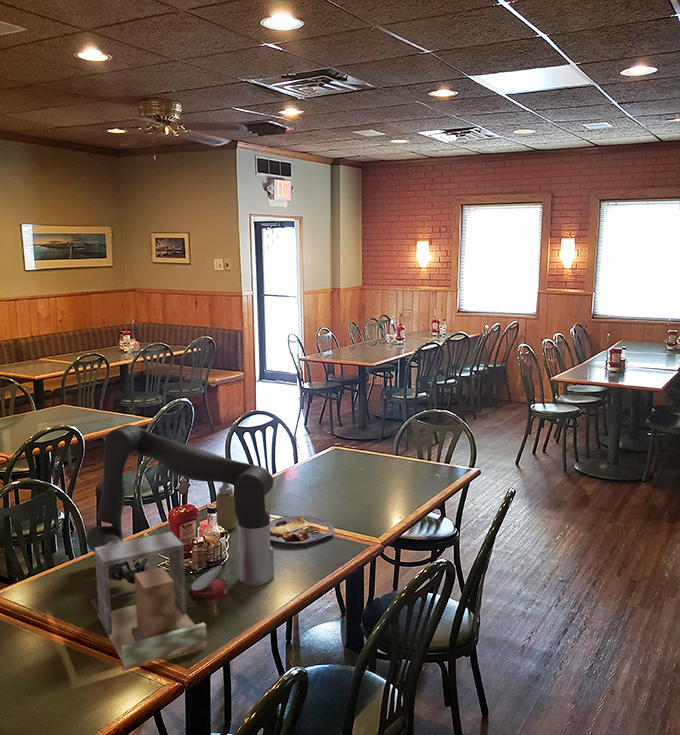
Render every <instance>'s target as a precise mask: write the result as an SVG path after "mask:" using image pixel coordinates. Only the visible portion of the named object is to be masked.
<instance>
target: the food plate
mask: <svg viewBox="0 0 680 735" xmlns="http://www.w3.org/2000/svg"><path fill="white" fill-rule="evenodd" d="M307 521H308V522H307ZM310 522H312V523H316V524H319V525H321V526H325V527H328V529H329V532H328V533H326V535H325V536H323V535H324V534H322V533H321V534H322V535H321V534H320V535H321V536H322V537H321V538H319V539H314V540H311V539H310V540H311V541H309V542H312V541H316V542H318V541H320V540H322V539H324V538H326V537H331V536H333V535H334V533H335V528H334V525H333V523H331V522H330V521H328V520H326V519H324V518H321V517H319V516H317V517H316V516H312V515H291V516H286V515H285V516H282V517H278V518H275V519H272V520H270V542H274V543H282V544H285V545H298V544H300V545H305V544H310V543H309V542H308V541H307V542H305V541H304V540H306V539H308V538H309V537H310V536H309V535H308V534H307V533H310V532H314V531H318V530H317V527H314V526H311V527H309V528H306V529H304V530H302V531H300V532H299V534H301V535H299V534H295V533H293V532H296V531H298V530H300V529H303V528H305V527H307V525H310V524H312V523H310ZM315 528H316V529H315ZM291 532H292V534H289V533H291ZM325 532H326V531H325ZM287 534H289V535H287ZM279 537H282V538H283V539H284V540H285V541H282V540H280V539H281V538H279ZM317 540H318V541H317ZM302 541H304V542H302ZM312 543H313V542H312Z"/></svg>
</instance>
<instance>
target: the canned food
mask: <svg viewBox="0 0 680 735" xmlns="http://www.w3.org/2000/svg"><path fill="white" fill-rule="evenodd" d="M222 570H223V565H219V566H216V567H214V568H212V569H209V570H208V571H206V572H204V573H203V574H201V576H199V577H198V578H197V579H196V580H194V581H193V583H192V584H191V586H190V587H191V594H192V595H193V596H195V597H197V598H202V599H203V598H204V599H208V598H209V599H211V598H216V599H217V601H219V602H220V601H222V600H223V599H225V598H226V597H227V596H228V581H226V580H225V579H224V578H221V577H218V575H219V573H221V571H222Z"/></svg>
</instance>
